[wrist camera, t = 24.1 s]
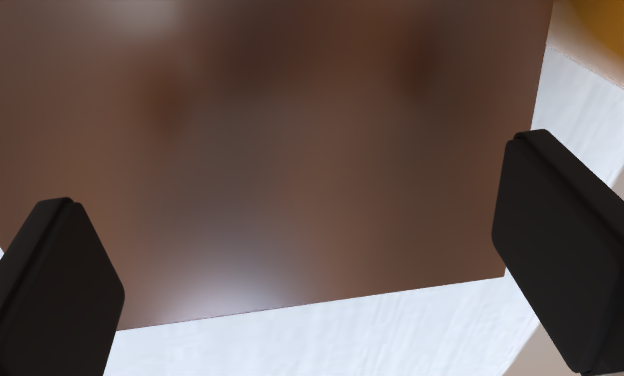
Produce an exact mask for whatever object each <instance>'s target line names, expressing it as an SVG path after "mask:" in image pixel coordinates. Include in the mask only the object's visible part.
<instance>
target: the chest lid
mask: <svg viewBox="0 0 624 376" xmlns="http://www.w3.org/2000/svg"><path fill="white" fill-rule="evenodd" d="M553 1H554V0H0V248H1V249H2V251H3V252H4V253H5V252H6V250H7V249H8V247H9V246H10V244H11V242H12V241H13V239H14V238H15V236H16V235H17V233H18V231H19V230H20V228H21V227H22V225H23V224H24V222H25V220H26V219H27V217H28V216H29V214H30V212H31V211H32V209H33V208H34V206H35V205H36V203H37V202H38V201H41V200H47V199H54V198H61V197H70V198H71V199H72V200H73V201H74V202H80V203H81V204H82V205H83V207H84V209H85V211H86V213H87V215H88V217H89V219H90V221H91V223H92V225H93V227H94V229H95V231H96V233H97V235H98V237H99V239H100V241H101V243H102V245H103V247H104V249H105V251H106V253H107V255H108V257H109V259H110V261H111V263H112V265H113V267H114V269H115V271H116V273H117V275H118V277H119V279H120V281H121V283H122V285H123V287H124V291H125V302H124V306H123V309H122V312H121V316H120V319H119V323H118V326H117V329H116V331H120V330H127V329H134V328H141V327H149V326H156V325H163V324H170V323H177V322H184V321H191V320H199V319H206V318H213V317H220V316H227V315H234V314H242V313H249V312H256V311H263V310H270V309H277V308H284V307H292V306H299V305H306V304H313V303H320V302H327V301H335V300H342V299H349V298H356V297H363V296H370V295H377V294H385V293H392V292H399V291H406V290H413V289H420V288H427V287H435V286H442V285H449V284H456V283H463V282H470V281H478V280H485V279H492V278H499V277H504V274H505V269H506V265H505V264H504V262H503V260H502V259H501V257H500V256H499V254H498V252H497V251H496V249H495V247H494V245H493V242H492V237H491V231H492V225H493V219H494V212H495V206H496V200H497V194H498V188H499V182H500V176H501V170H502V164H503V158H504V152H505V146H506V143H507V142H508V141H509V140H513V137H514V135H515V134H516V133H518V132H525V131H530V129H531V124H532V118H533V113H534V107H535V102H536V96H537V91H538V85H539V79H540V74H541V68H542V63H543V57H544V52H545V46H546V40H547V35H548V29H549V24H550V18H551V13H552V7H553Z"/></svg>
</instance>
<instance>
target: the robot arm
mask: <svg viewBox="0 0 624 376" xmlns="http://www.w3.org/2000/svg"><path fill="white" fill-rule="evenodd" d="M491 237H492V242H493V245H494V247H495V249H496V251H497V252H498V254H499V256H500V257H501V259H502V260H503V262H504V264H505V265H506V267H507V268H508V270H509V272H510V273H511V275H512V277H513V278H514V280H515V281H516V283H517V285H518V286H519V288H520V289H521V291H522V293H523V294H524V296H525V298H526V299H527V301H528V302H529V304H530V306H531V307H532V309H533V310H534V312H535V314H536V315H537V317H538V319H539V320H540V322H541V323H542V325H543V327H544V328H545V330H546V331H547V333H548V335H549V336H550V338H551V339H552V341H553V343H554V344H555V346H556V347H557V349H558V351H559V352H560V354H561V356H562V357H563V359H564V361H565V362H566V364H567V365H568V367H569V368H570V369H571V370H572V371H573V372H575V373H580V374H581V375H582V376H624V201H623V200H622V199H621V198H620V197H619V196H618V195H617V194H616V193H615V192H613V191H612V190H611V189H610V188H609V187H608V186H607V185H606V184H605V183H604V182H603V181H602V180H601V179H599V178H598V177H597V176H596V175H595V174H594V173H593V172H592V171H591V170H590V169H589V168H588V167H586V166H585V165H584V164H583V163H582V162H581V161H580V160H579V159H578V158H577V157H576V156H575V155H573V154H572V153H571V152H570V151H569V150H568V149H567V148H566V147H565V146H564V145H563V144H562V143H560V142H559V141H558V140H557V139H556V138H555V137H554V136H553V135H552V134H551V133H550V132H549V131H547V130H545V129H539V130H532V131H525V132H518V133H516V134H515V135H514V137H513V140H509V141H508V142H507V143H506V146H505V152H504V158H503V164H502V170H501V176H500V182H499V188H498V194H497V200H496V206H495V212H494V219H493V225H492V231H491ZM124 302H125V291H124V287H123V285H122V283H121V281H120V279H119V277H118V275H117V273H116V271H115V269H114V267H113V265H112V263H111V261H110V259H109V257H108V255H107V253H106V251H105V249H104V247H103V245H102V243H101V241H100V239H99V237H98V235H97V233H96V231H95V229H94V227H93V225H92V223H91V221H90V219H89V217H88V215H87V213H86V211H85V209H84V207H83V205H82V204H81V203H80V202H74V201H73V200H72V199H71V198H70V197H61V198H54V199H47V200H41V201H38V202H37V203H36V205H35V206H34V208H33V209H32V211H31V212H30V214H29V216H28V217H27V219H26V220H25V222H24V224H23V225H22V227H21V228H20V230H19V231H18V233H17V235H16V236H15V238H14V239H13V241H12V242H11V244H10V246H9V247H8V249H7V250H6V252H5V253H4V255H3V257H2V258H1V260H0V376H103V374H104V370H105V367H106V363H107V360H108V357H109V353H110V350H111V346H112V343H113V340H114V336H115V333H116V329H117V326H118V323H119V319H120V316H121V312H122V309H123V306H124Z"/></svg>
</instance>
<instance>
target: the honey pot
mask: <svg viewBox="0 0 624 376" xmlns="http://www.w3.org/2000/svg"><path fill="white" fill-rule="evenodd" d="M546 46H548V47H550V48H551V49H553V50H555V51H557V52H558V53H560V54H562V55H564V56H565V57H567V58H569V59H571V60H572V61H574V62H576V63H578V64H579V65H581V66H583V67H585V68H586V69H588V70H590V71H592V72H593V73H595V74H597V75H599V76H600V77H602V78H604V79H606V80H607V81H609V82H611V83H613V84H614V85H616V86H618V87H620V88H621V89H623V90H624V0H554V1H553V7H552V13H551V18H550V24H549V29H548V35H547V40H546Z"/></svg>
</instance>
